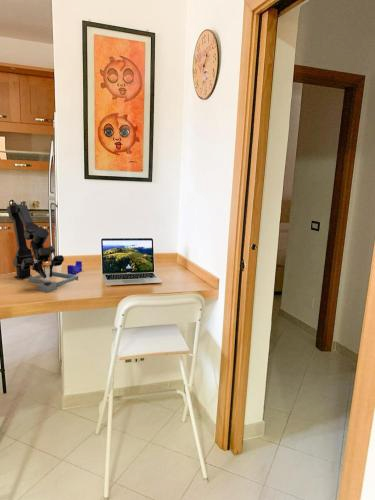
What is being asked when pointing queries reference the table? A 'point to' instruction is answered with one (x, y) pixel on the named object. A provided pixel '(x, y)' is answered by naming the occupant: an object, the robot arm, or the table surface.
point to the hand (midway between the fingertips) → (48, 277)
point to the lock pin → (46, 271)
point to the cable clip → (75, 268)
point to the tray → (56, 274)
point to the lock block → (47, 287)
